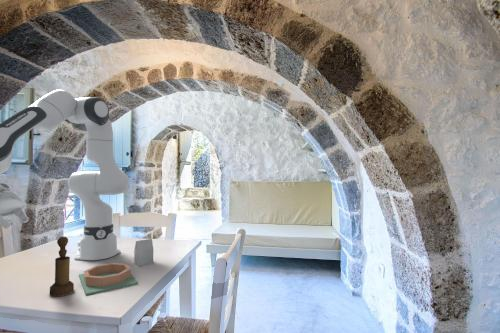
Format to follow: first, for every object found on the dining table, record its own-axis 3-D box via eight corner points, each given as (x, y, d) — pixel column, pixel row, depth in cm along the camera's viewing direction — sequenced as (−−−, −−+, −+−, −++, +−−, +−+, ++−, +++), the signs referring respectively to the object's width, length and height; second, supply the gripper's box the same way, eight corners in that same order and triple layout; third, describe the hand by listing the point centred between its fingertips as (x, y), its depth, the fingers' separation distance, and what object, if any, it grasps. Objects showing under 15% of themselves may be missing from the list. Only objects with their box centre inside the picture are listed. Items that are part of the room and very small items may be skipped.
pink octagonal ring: (82, 276, 106) (82, 268, 106) (123, 268, 114) (124, 261, 114) (87, 289, 94) (87, 280, 94) (133, 280, 103) (133, 271, 103)
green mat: (78, 276, 107) (78, 274, 107) (124, 267, 117) (124, 266, 117) (85, 295, 91) (85, 293, 91) (138, 283, 101) (138, 282, 101)
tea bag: (153, 263, 123) (153, 239, 123) (137, 266, 119) (137, 242, 119) (149, 260, 126) (150, 238, 126) (134, 264, 122) (134, 240, 122)
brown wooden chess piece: (77, 288, 97) (78, 234, 97) (66, 296, 90) (67, 239, 90) (57, 288, 96) (58, 234, 97) (44, 296, 90) (45, 239, 90)
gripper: (-33, 187, 79) (7, 222, 81) (11, 184, 99) (42, 212, 101) (-53, 203, 78) (-12, 238, 80) (-5, 197, 98) (27, 225, 100)
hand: (18, 223), depth 91 cm, fingers open, 8 cm apart
